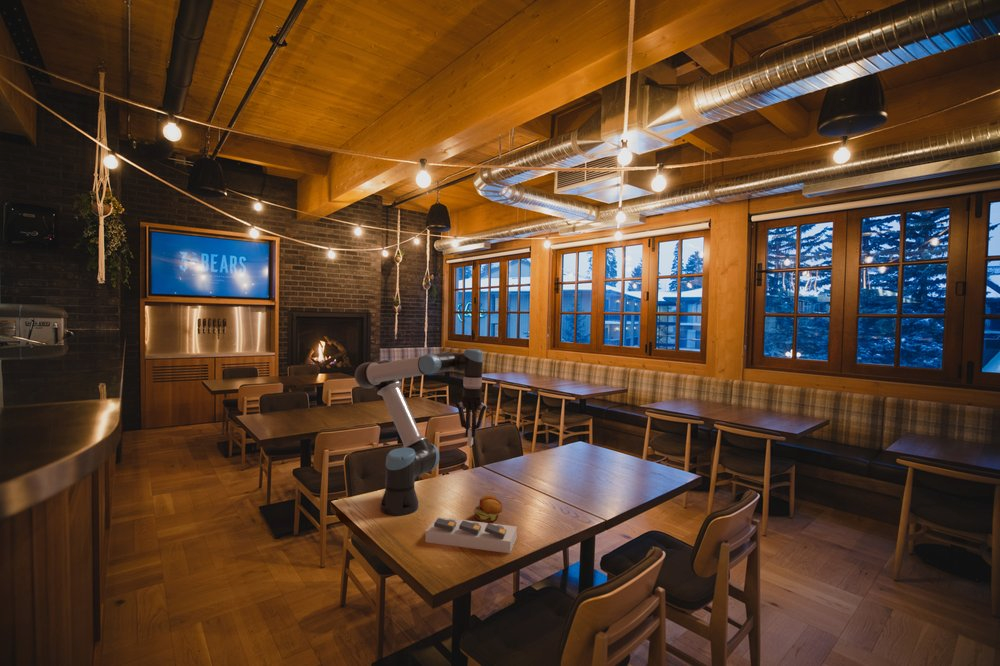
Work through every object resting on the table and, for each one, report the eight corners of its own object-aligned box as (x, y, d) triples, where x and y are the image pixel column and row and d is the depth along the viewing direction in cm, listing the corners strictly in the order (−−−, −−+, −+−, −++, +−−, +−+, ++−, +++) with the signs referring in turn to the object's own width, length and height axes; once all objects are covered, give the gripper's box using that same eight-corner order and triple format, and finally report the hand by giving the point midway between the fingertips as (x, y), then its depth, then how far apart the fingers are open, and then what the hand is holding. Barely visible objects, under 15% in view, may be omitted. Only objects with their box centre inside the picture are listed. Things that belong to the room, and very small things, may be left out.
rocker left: (433, 526, 164) (434, 522, 164) (437, 521, 168) (438, 517, 168) (452, 531, 163) (453, 526, 162) (456, 526, 166) (456, 522, 166)
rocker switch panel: (425, 542, 164) (425, 530, 164) (437, 527, 175) (437, 516, 175) (510, 553, 157) (510, 541, 157) (516, 537, 169) (516, 526, 169)
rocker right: (484, 531, 160) (485, 527, 160) (487, 526, 164) (488, 522, 164) (503, 538, 159) (504, 534, 159) (505, 533, 163) (506, 529, 162)
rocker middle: (458, 529, 162) (459, 524, 162) (462, 524, 166) (463, 520, 166) (477, 534, 161) (478, 530, 161) (480, 529, 165) (481, 525, 164)
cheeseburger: (484, 509, 193) (490, 487, 191) (504, 523, 186) (510, 500, 185) (467, 517, 185) (473, 494, 183) (487, 531, 178) (493, 507, 177)
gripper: (454, 387, 189) (451, 445, 190) (485, 389, 186) (482, 449, 187) (460, 384, 196) (458, 441, 197) (490, 387, 193) (488, 444, 194)
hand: (470, 444), depth 192 cm, fingers closed
